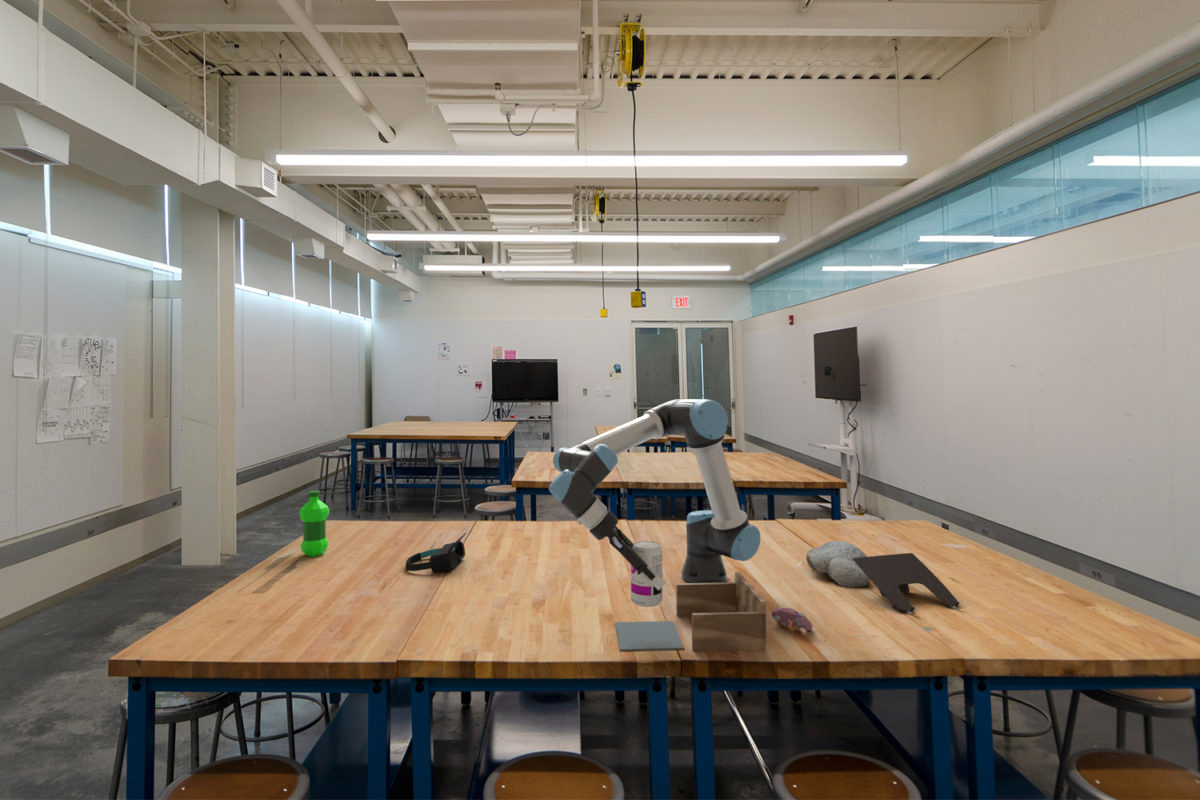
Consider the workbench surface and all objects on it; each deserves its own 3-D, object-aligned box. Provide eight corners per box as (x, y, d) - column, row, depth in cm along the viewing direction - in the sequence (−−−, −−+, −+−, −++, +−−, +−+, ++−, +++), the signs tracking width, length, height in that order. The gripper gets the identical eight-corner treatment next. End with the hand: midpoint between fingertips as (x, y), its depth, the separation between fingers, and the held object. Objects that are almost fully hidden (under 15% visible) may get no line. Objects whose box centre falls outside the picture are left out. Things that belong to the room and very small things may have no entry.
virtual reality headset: (458, 571, 195) (453, 543, 194) (398, 580, 196) (394, 553, 196) (473, 555, 213) (469, 530, 213) (418, 563, 214) (414, 538, 214)
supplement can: (637, 609, 140) (637, 550, 139) (626, 597, 147) (627, 541, 147) (667, 606, 142) (667, 548, 142) (655, 594, 150) (655, 539, 149)
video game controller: (773, 629, 152) (767, 610, 150) (780, 617, 155) (774, 598, 153) (808, 640, 145) (803, 620, 143) (814, 628, 148) (809, 608, 146)
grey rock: (867, 591, 177) (867, 563, 177) (798, 579, 188) (798, 552, 188) (874, 566, 202) (874, 542, 201) (813, 557, 212) (813, 534, 212)
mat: (615, 623, 153) (615, 622, 153) (672, 622, 153) (672, 620, 153) (619, 650, 137) (619, 649, 137) (684, 649, 137) (684, 647, 137)
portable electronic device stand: (892, 632, 160) (903, 609, 156) (845, 574, 180) (853, 552, 176) (957, 624, 166) (969, 601, 162) (904, 568, 186) (914, 547, 182)
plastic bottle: (293, 557, 215) (293, 493, 214) (315, 549, 225) (314, 488, 225) (314, 559, 212) (313, 494, 212) (335, 551, 222) (334, 489, 222)
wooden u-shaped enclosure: (676, 614, 159) (676, 573, 158) (739, 613, 159) (739, 571, 159) (693, 651, 136) (693, 603, 136) (765, 649, 137) (765, 601, 137)
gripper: (587, 520, 154) (644, 577, 155) (589, 540, 133) (655, 605, 134) (606, 501, 154) (663, 558, 155) (611, 518, 133) (676, 583, 134)
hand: (659, 580), depth 145 cm, fingers closed on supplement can, 8 cm apart
